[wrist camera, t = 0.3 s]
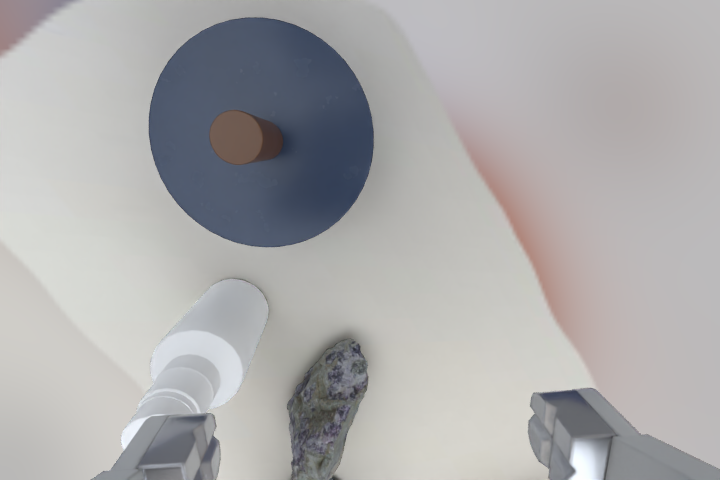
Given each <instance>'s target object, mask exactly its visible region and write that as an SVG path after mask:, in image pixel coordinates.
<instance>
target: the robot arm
mask: <svg viewBox="0 0 720 480" xmlns="http://www.w3.org/2000/svg"><path fill="white" fill-rule="evenodd" d="M530 407H531V408H532V410H533V411H534V413H535V414H534V415H533V416H532V417H531V419H530V420H529V424H528V434H529V440H530V444H531V447H532V449H533V452H534V454H535V456H536V457H537V459H538V461H539V462H540V463H542V464H543V465H545V466H546V467H548V468H549V477H548V478H549V479H550V480H720V469H718V468H716V467H714V466H712V465H710V464H708V463H706V462H704V461H702V460H700V459H698V458H696V457H694V456H692V455H689V454H687V453H685V452H683V451H681V450H679V449H677V448H675V447H673V446H671V445H669V444H667V443H665V442H663V441H661V440H658V439H656V438H654V437H652V436H650V435H648V434H645V435H641V434H640V433H639V432H638V431H637V430H636V429H635V428H634V427H633V426H632V425H631V424H630V423H629V422H628V421H627V420H626V419H625V418H624V417H623V416H622V415H621V414H620V413H619V412H618V411H617V410H616V409H615V408H614V407H613V406H612V405H611V404H610V403H609V402H608V401H607V400H606V399H605V398H604V397H603V396H602V395H601V394H600V393H599V392H598V391H597V390H595V389H593V388H584V389H573V390H566V391H552V392H538V393H533V395H532V397H531V403H530ZM215 429H216V422H215V417H214V415H213V414H211V413H202V414H177V415H160V416H151V417H149V418H147V419H146V420H145V421H144V423H143V424H142V426H141V427H140V429H139V430H138V431H137V433H136V434H135V436H134V437H133V439H132V440H131V441H130V443H129V444H128V446H127V447H126V449H125V450H124V451H123V453H122V454H121V456H120V457H119V459H118V460H117V461H116V463H115V464H114V466H113V467H112V469H111V470H110V471H103V472H101V473H100V474H98V475H97V476H96V477H94V478H93V479H91V480H216V478H217V475H218V471H219V465H220V444H219V441H218V440H217V439H216V438H215V437H214V436H213V434H214V431H215Z"/></svg>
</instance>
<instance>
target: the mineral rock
mask: <svg viewBox="0 0 720 480" xmlns="http://www.w3.org/2000/svg"><path fill="white" fill-rule="evenodd" d="M367 366H368V364H367V361H366V360H365V358H364V356H363V355H362V353H361V351H360V345H359V343H357V342H356V341H354V340H353V339H346V340H343V341H340V342H339V343H337V344H335V347H334V348H329V349H327V350H326V351H325V352H324V354H323V356H322V357H321V358H320V359H319V361H318V362H316V364H315V365H314V366H313V367H312V368H310V371H308V372H307V373H306V374H305V379H304V382H303V383H301V384H299V385H298V386H297V388H296V391H295V395H294V396H293V397H292V398H291V400H290V401H289V402H288V404H287V409H288V410H289V416H290V419H291V422H290V424H289V431H290V435H291V443H292V446H291V448H292V453H293V461H292V462H291V465H292V469H293V471H292V478H291V479H292V480H329V479H330V478H332V476H333V474H334V472H335V471H336V469H337V468H338V466H339V464H340V461H341V458H342V454H343V451H344V446H345V441H346V436H347V432H348V430H349V427H350V426H351V425H352V422H353V419H354V416H355V414H356V413H357V411H358V407H359V403H360V402H361V400H362V399H363V398H364V395H365V392H366V391H367V385H368V376H367Z"/></svg>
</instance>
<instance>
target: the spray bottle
mask: <svg viewBox="0 0 720 480" xmlns="http://www.w3.org/2000/svg"><path fill="white" fill-rule="evenodd" d="M268 313H269V308H268V304H267V300H266V298H265V297H264V295H263V294H262V292H261V291H260V290H259V289H258V288H257V287H255V286H254V285H253V284H251V283H249V282H246V281H244V280H238V279H227V280H221V281H219V282H217V283H215V284H213V285H212V286H211V287H210V288H209V289H208V290H207V291H206V292H205V293H204V294H203V295H202V296H201V297H200V299H199V300H198V301H197V302H196V303H195V304H194V305H193V306H192V307H191V309H190V310H189V311H188V312H187V313H186V314H185V315H184V316H183V317H182V318H181V320H180V321H179V322H178V323H177V324H176V325H175V326H174V327H173V328H172V330H171V331H170V332H169V333H168V334H167V335H166V336H165V337H164V338H163V339H162V341H161V342H160V343H159V344H158V345H157V347H156V349H155V351H154V353H153V356H152V358H151V366H150V373H151V377H152V380H153V383H154V384H153V385H152V386H151V388H150V389H149V390H148V392H147V393H146V394H145V396H144V397H143V398H142V399H141V401H140V403H139V405H138V408H137V412H136V414H135V415H134V417H133V418H132V419H131V420H130V422H129V423H128V424H127V426H126V427H125V429H124V431H123V433H122V436H121V445H122V447H123V450H125V449H126V447H127V446H128V444H129V443H130V441H131V440H132V439H133V437H134V436H135V434H136V433H137V431H138V430H139V429H140V427H141V426H142V424H143V423H144V421H145V420H146V419H147V418H149V417H151V416H160V415H177V414H202V413H206V411H207V410H208V409H212V408H216V407H218V406H220V405H222V404H224V403H226V402H228V401H229V400H230V399H231V398H232V397H233V396H234V395H235V394H236V393H237V392H238V390H239V388H240V386H241V384H242V382H243V380H244V378H245V375H246V373H247V370H248V368H249V365H250V363H251V360H252V358H253V355H254V353H255V350H256V348H257V345H258V343H259V340H260V338H261V335H262V333H263V330H264V328H265V325H266V323H267V320H268Z"/></svg>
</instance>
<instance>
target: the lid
mask: <svg viewBox="0 0 720 480" xmlns="http://www.w3.org/2000/svg"><path fill="white" fill-rule="evenodd" d="M149 138H150V145H151V151H152V154H153V158H154V161H155V165H156V167H157V170H158V172H159V174H160V177H161V179H162V181H163V183H164V184H165V186H166V188H167V190H168V191H169V193H170V194H171V195H172V197H173V198H174V199H175V201H176V202H177V204H178V205H179V206H180V207H181V208H182V209H183V210H184V211H185V212H186V213H187V214H188V215H189V216H190V217H191V218H193V219H194V220H195V221H196V222H197V223H199V224H200V225H201V226H203V227H205V228H206V229H208V230H209V231H211V232H213V233H215V234H217V235H219V236H221V237H223V238H225V239H228V240H231V241H233V242H236V243H240V244H245V245H249V246H257V247H280V246H287V245H292V244H296V243H299V242H303V241H306V240H308V239H310V238H313V237H315V236H317V235H319V234H320V233H322V232H324V231H325V230H327V229H329V228H330V227H331V226H332V225H334V224H335V223H336V222H337V221H339V220H340V219H341V218H342V217H343V216H344V215H345V213H346V212H347V211H348V210H349V209H350V208H351V206H352V205H353V204H354V202H355V201H356V200H357V198H358V196H359V194H360V192H361V190H362V189H363V187H364V184H365V182H366V179H367V177H368V174H369V170H370V166H371V162H372V155H373V147H374V131H373V124H372V116H371V113H370V109H369V105H368V101H367V99H366V96H365V94H364V91H363V89H362V87H361V85H360V83H359V81H358V79H357V78H356V76H355V74H354V73H353V71H352V70H351V69H350V67H349V66H348V64H347V63H346V62H345V60H344V59H343V58H342V57H341V56H340V55H339V54H338V53H337V52H336V51H335V50H334V49H333V48H332V47H330V46H329V45H328V44H327V43H326V42H324V41H323V40H322V39H320V38H319V37H317V36H315V35H314V34H312V33H311V32H309V31H307V30H305V29H303V28H300V27H298V26H296V25H294V24H290V23H287V22H284V21H280V20H275V19H268V18H240V19H233V20H229V21H225V22H222V23H219V24H216V25H214V26H211V27H209V28H207V29H205V30H203V31H201V32H200V33H198V34H197V35H195V36H194V37H192V38H191V39H189V40H188V41H187V42H186V43H185V44H184V45H183V46H182V47H180V48H179V49H178V50H177V52H176V53H175V54H174V55H173V56H172V58H171V59H170V60H169V61H168V63H167V65H166V66H165V68H164V70H163V71H162V73H161V75H160V77H159V79H158V82H157V84H156V87H155V89H154V93H153V97H152V101H151V105H150V113H149Z"/></svg>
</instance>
